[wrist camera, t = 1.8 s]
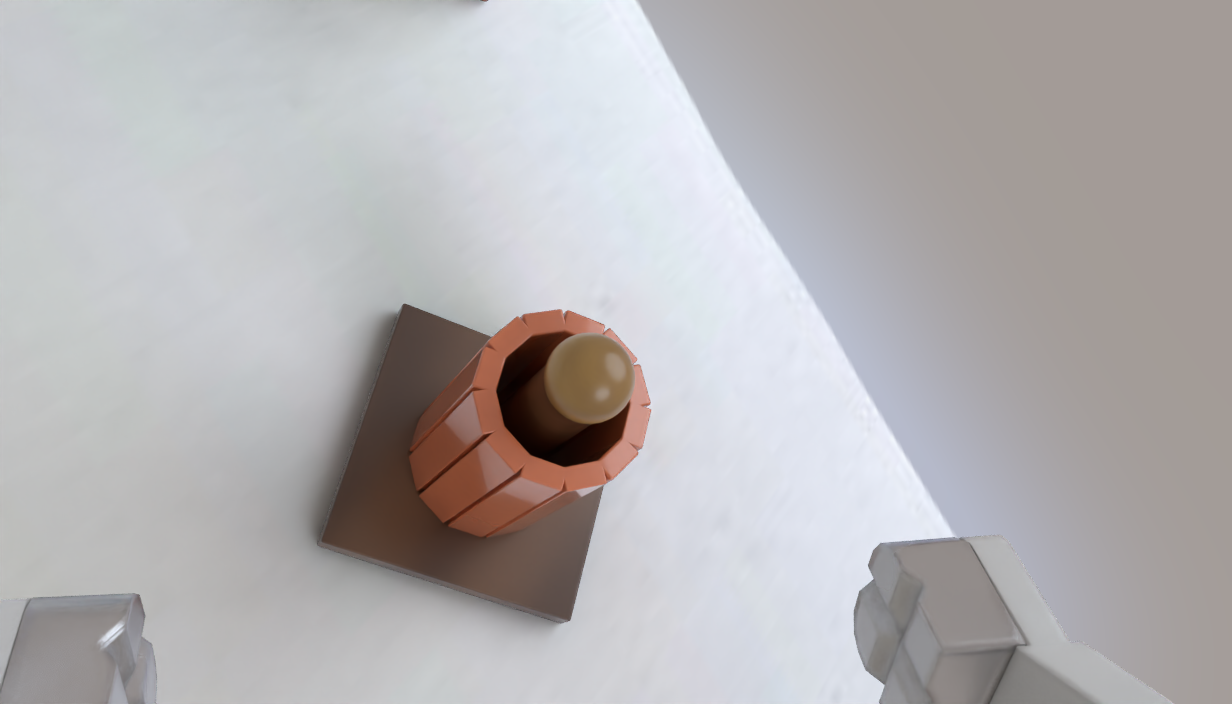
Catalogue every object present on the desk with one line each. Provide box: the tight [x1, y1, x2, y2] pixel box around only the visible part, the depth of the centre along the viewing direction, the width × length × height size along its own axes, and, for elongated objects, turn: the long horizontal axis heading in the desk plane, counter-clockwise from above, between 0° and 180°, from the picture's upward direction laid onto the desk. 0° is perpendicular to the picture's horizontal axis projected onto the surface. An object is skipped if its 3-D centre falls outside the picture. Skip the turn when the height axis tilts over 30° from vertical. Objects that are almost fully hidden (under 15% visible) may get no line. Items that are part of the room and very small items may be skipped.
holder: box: [317, 304, 635, 623], centre depth 40 cm, size 10×10×14 cm
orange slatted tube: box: [409, 309, 651, 538], centre depth 41 cm, size 6×6×9 cm
